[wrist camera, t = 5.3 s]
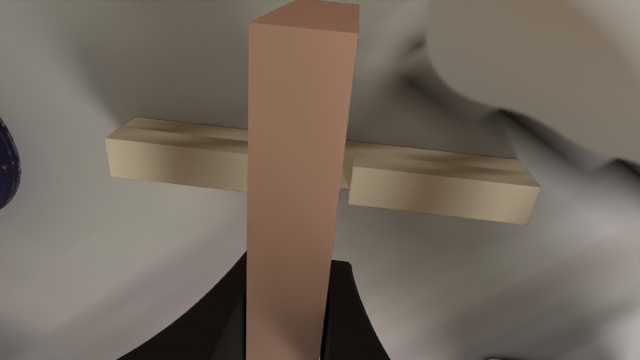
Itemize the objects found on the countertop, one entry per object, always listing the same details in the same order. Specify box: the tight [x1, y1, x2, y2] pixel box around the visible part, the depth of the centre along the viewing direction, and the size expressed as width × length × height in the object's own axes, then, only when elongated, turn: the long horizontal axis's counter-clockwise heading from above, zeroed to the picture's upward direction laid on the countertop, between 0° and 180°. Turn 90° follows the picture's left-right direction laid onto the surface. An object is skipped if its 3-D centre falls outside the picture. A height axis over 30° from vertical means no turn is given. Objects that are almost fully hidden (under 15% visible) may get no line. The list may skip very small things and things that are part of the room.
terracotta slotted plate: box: [246, 0, 359, 360], centre depth 14 cm, size 16×2×7 cm, turn 175°
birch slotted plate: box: [105, 117, 541, 225], centre depth 21 cm, size 20×2×3 cm, turn 85°
